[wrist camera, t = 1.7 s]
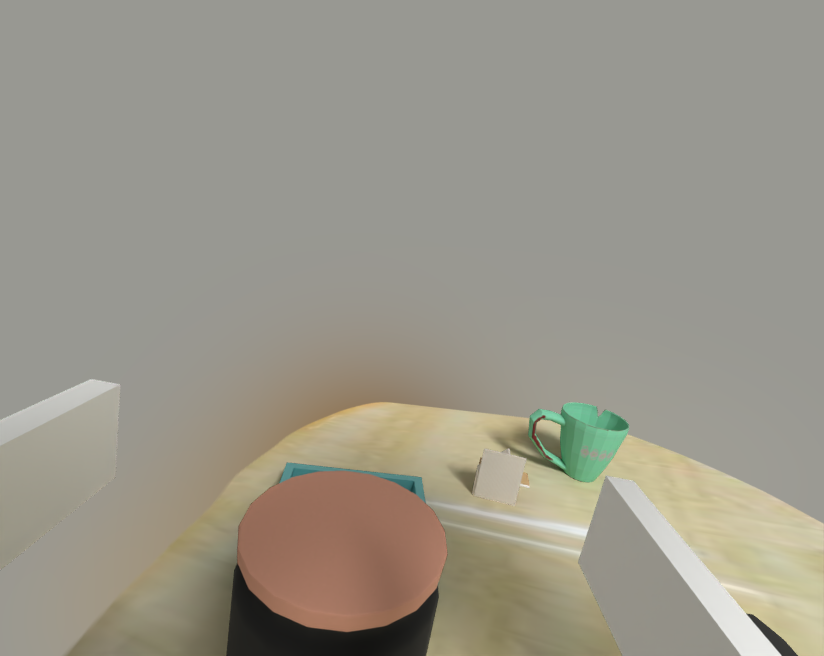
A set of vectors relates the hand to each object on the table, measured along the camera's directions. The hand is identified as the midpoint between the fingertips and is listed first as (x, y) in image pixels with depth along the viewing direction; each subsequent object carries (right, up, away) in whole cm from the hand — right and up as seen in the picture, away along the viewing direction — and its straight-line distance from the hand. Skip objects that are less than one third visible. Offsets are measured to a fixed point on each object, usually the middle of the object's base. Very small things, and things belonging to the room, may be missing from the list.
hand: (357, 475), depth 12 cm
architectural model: (+12, -20, +48) cm, 54 cm away
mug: (+26, -19, +59) cm, 67 cm away
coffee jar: (-5, -24, +15) cm, 29 cm away
